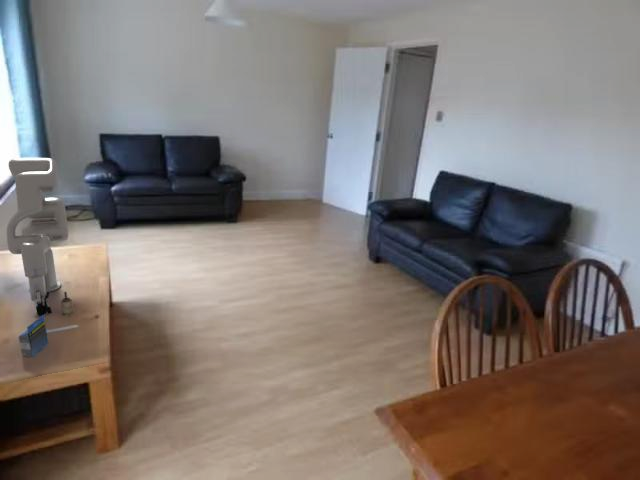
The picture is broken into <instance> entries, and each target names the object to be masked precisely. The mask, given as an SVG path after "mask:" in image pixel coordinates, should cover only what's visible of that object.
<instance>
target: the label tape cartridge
mask: <svg viewBox="0 0 640 480" xmlns="http://www.w3.org/2000/svg"><path fill="white" fill-rule="evenodd" d="M46 330H47V328H46V322H45V315H42V316H39V318H37V319H35V321H33V322H32V323H31V324H30V325H28V326H27V328H26V331H24V332H23V333H21V334H20V335H18V340H19V346H20V350H21V351H20V352H21V356H22V357H25V358H33V357H34V356H36V355H37V353H39V352H40V351H41V350H43V348H45V346H47V345H48V344H49V340H48V335H47V334H48V333H46Z"/></svg>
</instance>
